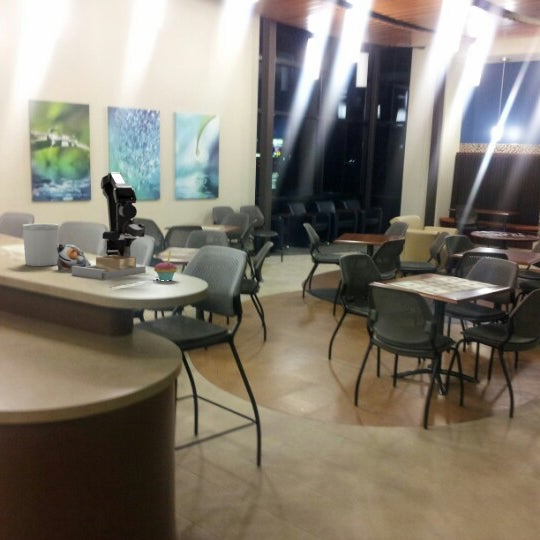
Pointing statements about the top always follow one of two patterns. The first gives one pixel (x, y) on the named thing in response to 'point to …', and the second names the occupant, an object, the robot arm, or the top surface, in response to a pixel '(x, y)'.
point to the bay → (102, 274)
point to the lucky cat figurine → (71, 257)
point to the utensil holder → (41, 244)
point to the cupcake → (165, 270)
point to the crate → (116, 261)
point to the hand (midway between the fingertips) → (124, 255)
